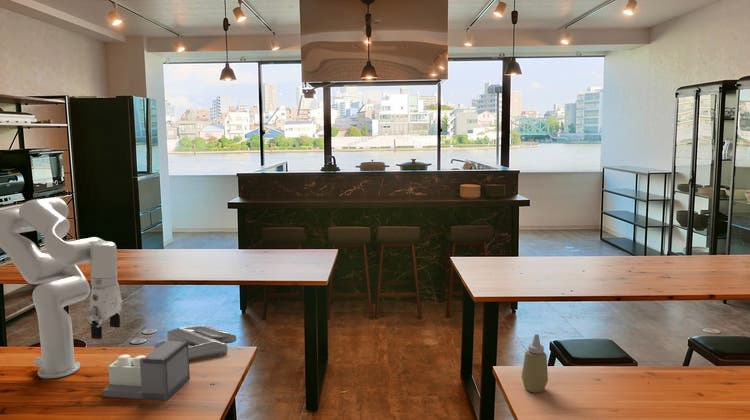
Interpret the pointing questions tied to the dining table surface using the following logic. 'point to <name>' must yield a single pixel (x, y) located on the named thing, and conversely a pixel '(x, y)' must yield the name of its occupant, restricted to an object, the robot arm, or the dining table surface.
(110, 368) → the egg tray
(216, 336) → the emblem
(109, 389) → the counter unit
